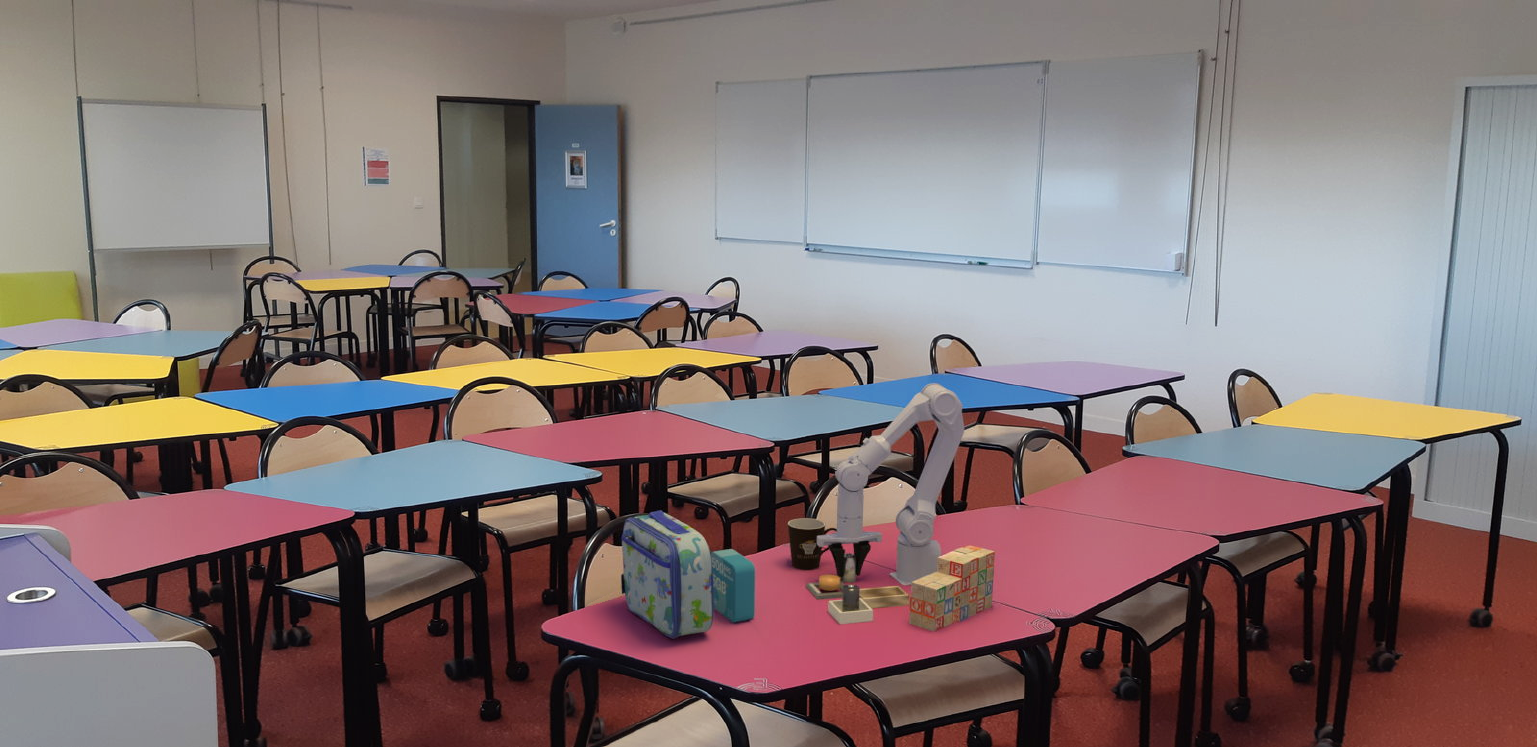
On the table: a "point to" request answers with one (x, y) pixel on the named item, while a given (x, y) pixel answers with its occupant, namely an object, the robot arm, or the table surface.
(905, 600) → the trough
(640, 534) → the lunch box
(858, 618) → the white square tray
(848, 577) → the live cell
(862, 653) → the table surface
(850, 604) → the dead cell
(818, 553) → the coffee mug
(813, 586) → the grey square frame
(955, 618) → the stack of blocks
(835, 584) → the button
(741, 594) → the data package
